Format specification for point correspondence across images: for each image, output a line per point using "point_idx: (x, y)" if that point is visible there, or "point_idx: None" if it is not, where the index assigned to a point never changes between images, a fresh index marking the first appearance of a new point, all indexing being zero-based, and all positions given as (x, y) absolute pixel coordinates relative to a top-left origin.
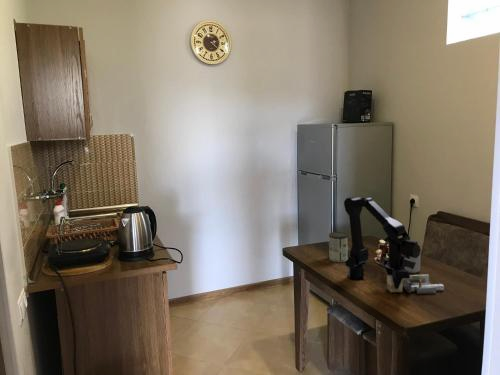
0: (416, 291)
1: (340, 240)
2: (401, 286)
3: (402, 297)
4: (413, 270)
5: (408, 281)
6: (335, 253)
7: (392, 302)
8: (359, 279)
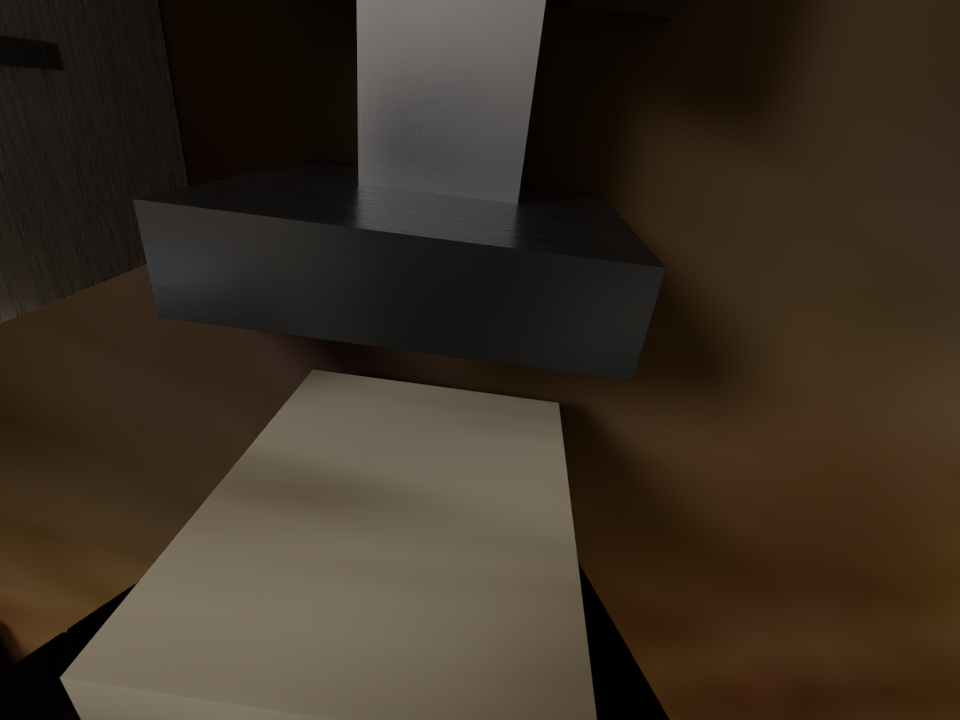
0: (598, 5)
1: None
2: (565, 508)
3: (710, 452)
4: None
5: (454, 296)
6: None
7: (799, 640)
8: (2, 655)
